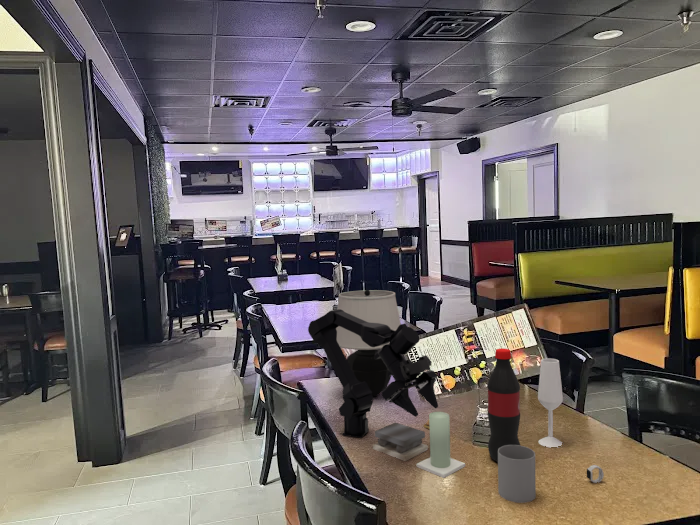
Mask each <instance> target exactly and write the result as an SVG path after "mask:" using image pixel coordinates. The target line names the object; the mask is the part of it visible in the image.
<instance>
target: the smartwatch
mask: <svg viewBox="0 0 700 525" xmlns="http://www.w3.org/2000/svg"><path fill="white" fill-rule="evenodd" d="M595 469H598V476H597V478H596V479H593V477H594V476H593V474H594V472H593V470H595ZM604 475H605V473H604V471H603V469H602V468H601V467H600V466H599V465H596V464H593V465H592V464H591V465H590V466H589V467H588V468H586V478H587V479H588V480H589V481H590V482H592V483H594V484H598V483H601V481H602V480H603V479H604ZM597 482H598V483H597Z"/></svg>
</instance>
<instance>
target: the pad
mask: <svg viewBox="0 0 700 525" xmlns="http://www.w3.org/2000/svg"><path fill="white" fill-rule="evenodd" d="M450 461H451V464H450V466H449V467H446V468H437V467H434V466H432V465H431V462H430V456H429V457H428V458H426V459H424V460H421V461H419V462H417V463H416V467H417V468H419V469H421V470H423V471H427V472H429V473H430V474H433V475H435V476H438V477H441V478H443V479H444V478H446V477H448V476H450V475H451V474H454V473H456V472H457V471H459V470H461V469H463V468H466V463H465V462H462V461H460V460H458V459H454V458H453V457H450Z"/></svg>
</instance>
